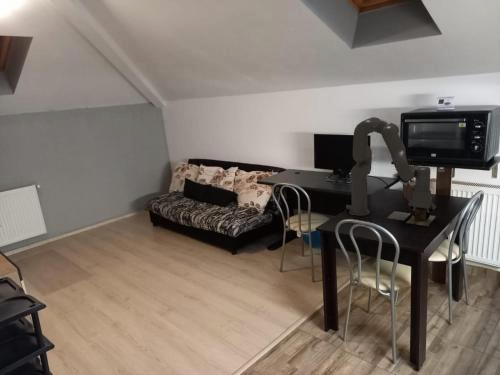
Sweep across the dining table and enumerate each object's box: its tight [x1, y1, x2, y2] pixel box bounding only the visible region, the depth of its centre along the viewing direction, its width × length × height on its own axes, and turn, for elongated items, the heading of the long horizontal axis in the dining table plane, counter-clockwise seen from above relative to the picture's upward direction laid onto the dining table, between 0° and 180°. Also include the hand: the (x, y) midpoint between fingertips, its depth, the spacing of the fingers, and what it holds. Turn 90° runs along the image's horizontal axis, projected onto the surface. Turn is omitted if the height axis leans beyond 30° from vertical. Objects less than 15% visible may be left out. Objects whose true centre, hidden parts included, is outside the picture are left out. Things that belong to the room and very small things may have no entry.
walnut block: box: [414, 207, 427, 222], centre depth 224 cm, size 6×6×7 cm
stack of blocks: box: [402, 181, 416, 204], centre depth 261 cm, size 21×6×12 cm, turn 174°
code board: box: [405, 215, 436, 227], centre depth 225 cm, size 12×18×1 cm, turn 142°
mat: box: [386, 210, 411, 221], centre depth 234 cm, size 10×14×1 cm
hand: (421, 217), depth 225 cm, fingers closed on walnut block, 6 cm apart
